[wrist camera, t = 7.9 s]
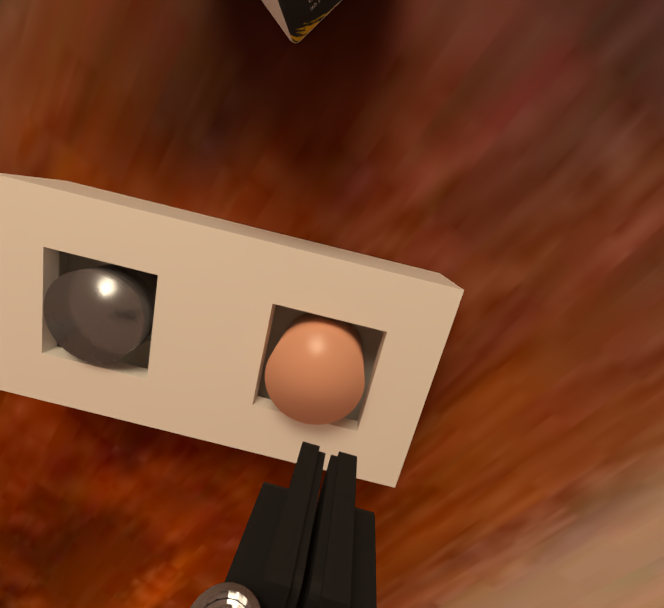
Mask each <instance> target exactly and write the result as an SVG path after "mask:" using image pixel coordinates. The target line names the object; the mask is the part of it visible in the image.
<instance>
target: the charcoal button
mask: <svg viewBox="0 0 664 608" xmlns="http://www.w3.org/2000/svg"><path fill="white" fill-rule="evenodd" d="M157 279H158V275H155V274H151V273H147V272H143V271H139V270H135V269H131V268H127V267H123V266H119V265H115V264H107V265H102V266H97V267H92V268H87V269H82V270H77V271H72V272H68V273H66V274H63V275H62V276H60V277H58V278H57V279H56V280H55V281H54V282H53V283H52V284H51V285H50V287H49V288H48V290H47V292H46V295H45V299H44V317H45V321H46V324H47V327H48V329H49V331H50V333H51V334H52V336H53V337H54V339H55V340H56V341H57V343H58V344H59V345H60V346H61V347H62V348H63V349H65V350H66V351H67V352H68V353H70V354H71V355H73V356H75V357H77V358H79V359H81V360H84V361H87V362H92V363H108V362H112V361H115V360H117V359H119V358H121V357H123V356H124V355H126V354H128V353H129V352H131V351H132V350H134V349H136V348H137V347H139V346H141V345H142V344H144V343H145V342H147V341H149V340H150V339H151V336H152V327H153V317H154V308H155V298H156V289H157Z"/></svg>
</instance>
